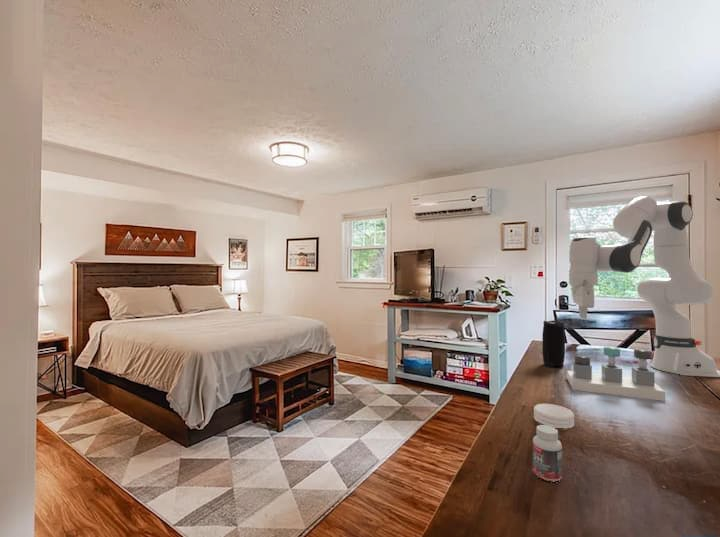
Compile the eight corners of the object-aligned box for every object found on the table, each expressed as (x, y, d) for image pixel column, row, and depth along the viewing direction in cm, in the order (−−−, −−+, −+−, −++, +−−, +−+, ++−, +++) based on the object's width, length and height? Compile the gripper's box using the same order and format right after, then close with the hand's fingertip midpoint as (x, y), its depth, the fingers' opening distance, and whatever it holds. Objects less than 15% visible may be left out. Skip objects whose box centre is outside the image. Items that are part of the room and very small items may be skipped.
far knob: (588, 372, 131) (588, 355, 131) (591, 376, 126) (591, 359, 126) (573, 371, 133) (573, 354, 133) (575, 374, 128) (575, 357, 128)
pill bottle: (529, 476, 73) (529, 429, 73) (536, 465, 77) (536, 420, 77) (558, 487, 69) (559, 437, 69) (564, 475, 73) (564, 428, 73)
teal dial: (618, 364, 127) (618, 346, 127) (621, 368, 123) (621, 349, 123) (602, 363, 129) (602, 345, 129) (605, 366, 125) (605, 348, 125)
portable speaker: (554, 362, 161) (554, 319, 161) (569, 368, 151) (570, 322, 151) (537, 363, 159) (537, 320, 159) (552, 369, 150) (552, 323, 150)
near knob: (648, 367, 124) (649, 349, 124) (653, 371, 119) (654, 352, 119) (632, 366, 125) (632, 348, 125) (636, 369, 121) (636, 351, 121)
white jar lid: (525, 418, 102) (525, 405, 102) (550, 412, 105) (550, 400, 105) (557, 433, 92) (557, 419, 92) (582, 426, 96) (582, 413, 96)
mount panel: (649, 387, 127) (649, 365, 127) (665, 400, 114) (665, 376, 114) (567, 378, 138) (567, 358, 137) (572, 389, 125) (572, 367, 125)
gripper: (599, 281, 119) (599, 322, 119) (587, 279, 137) (587, 314, 137) (577, 281, 121) (577, 321, 121) (569, 279, 140) (569, 313, 140)
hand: (583, 317), depth 129 cm, fingers closed
